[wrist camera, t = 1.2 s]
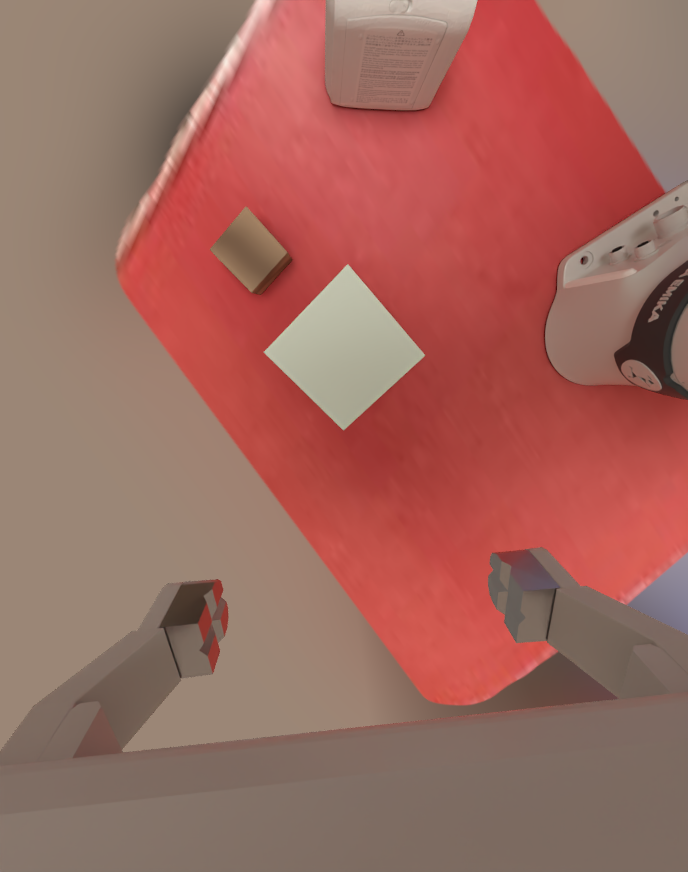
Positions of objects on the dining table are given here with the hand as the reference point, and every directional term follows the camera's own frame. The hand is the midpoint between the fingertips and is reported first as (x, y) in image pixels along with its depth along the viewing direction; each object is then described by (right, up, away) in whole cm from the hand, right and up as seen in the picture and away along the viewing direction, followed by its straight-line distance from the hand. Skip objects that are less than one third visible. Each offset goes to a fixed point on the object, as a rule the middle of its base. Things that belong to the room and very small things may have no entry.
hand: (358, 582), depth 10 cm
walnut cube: (-9, +23, +26) cm, 36 cm away
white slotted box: (+3, +37, +22) cm, 43 cm away
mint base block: (0, +14, +30) cm, 33 cm away
